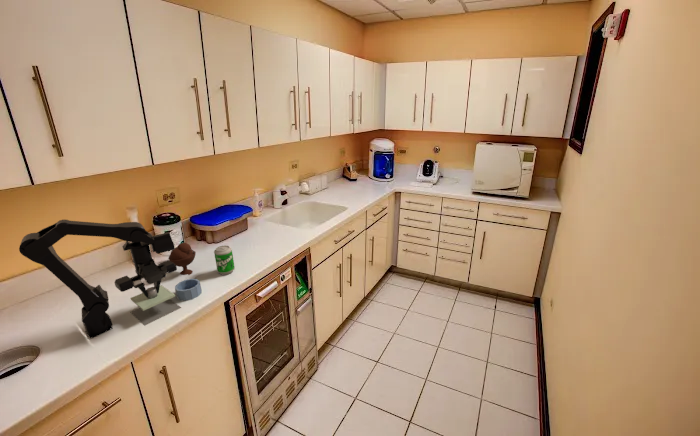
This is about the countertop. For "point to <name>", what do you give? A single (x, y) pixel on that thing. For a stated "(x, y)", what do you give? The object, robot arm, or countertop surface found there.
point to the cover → (152, 297)
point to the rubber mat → (155, 311)
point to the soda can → (224, 260)
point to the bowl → (188, 289)
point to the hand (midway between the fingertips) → (152, 295)
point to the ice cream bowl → (182, 257)
